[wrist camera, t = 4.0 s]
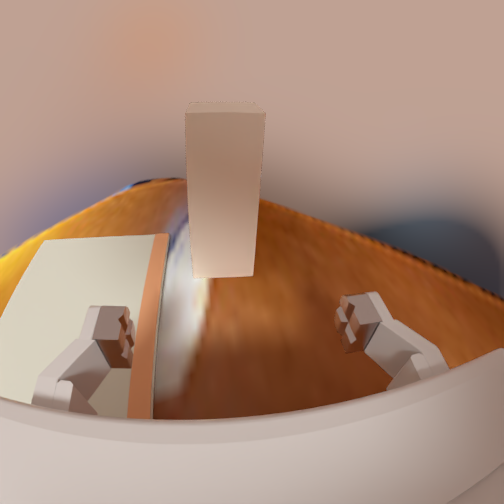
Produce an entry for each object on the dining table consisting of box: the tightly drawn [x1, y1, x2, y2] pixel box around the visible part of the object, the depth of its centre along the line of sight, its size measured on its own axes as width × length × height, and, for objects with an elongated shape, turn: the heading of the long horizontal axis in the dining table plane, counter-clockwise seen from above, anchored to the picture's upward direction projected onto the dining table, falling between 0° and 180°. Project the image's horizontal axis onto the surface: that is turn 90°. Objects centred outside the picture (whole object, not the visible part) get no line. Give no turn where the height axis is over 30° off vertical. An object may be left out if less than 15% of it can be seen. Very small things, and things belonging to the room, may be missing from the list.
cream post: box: [185, 102, 266, 279], centre depth 21 cm, size 4×4×12 cm
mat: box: [0, 233, 170, 419], centre depth 18 cm, size 13×18×1 cm
